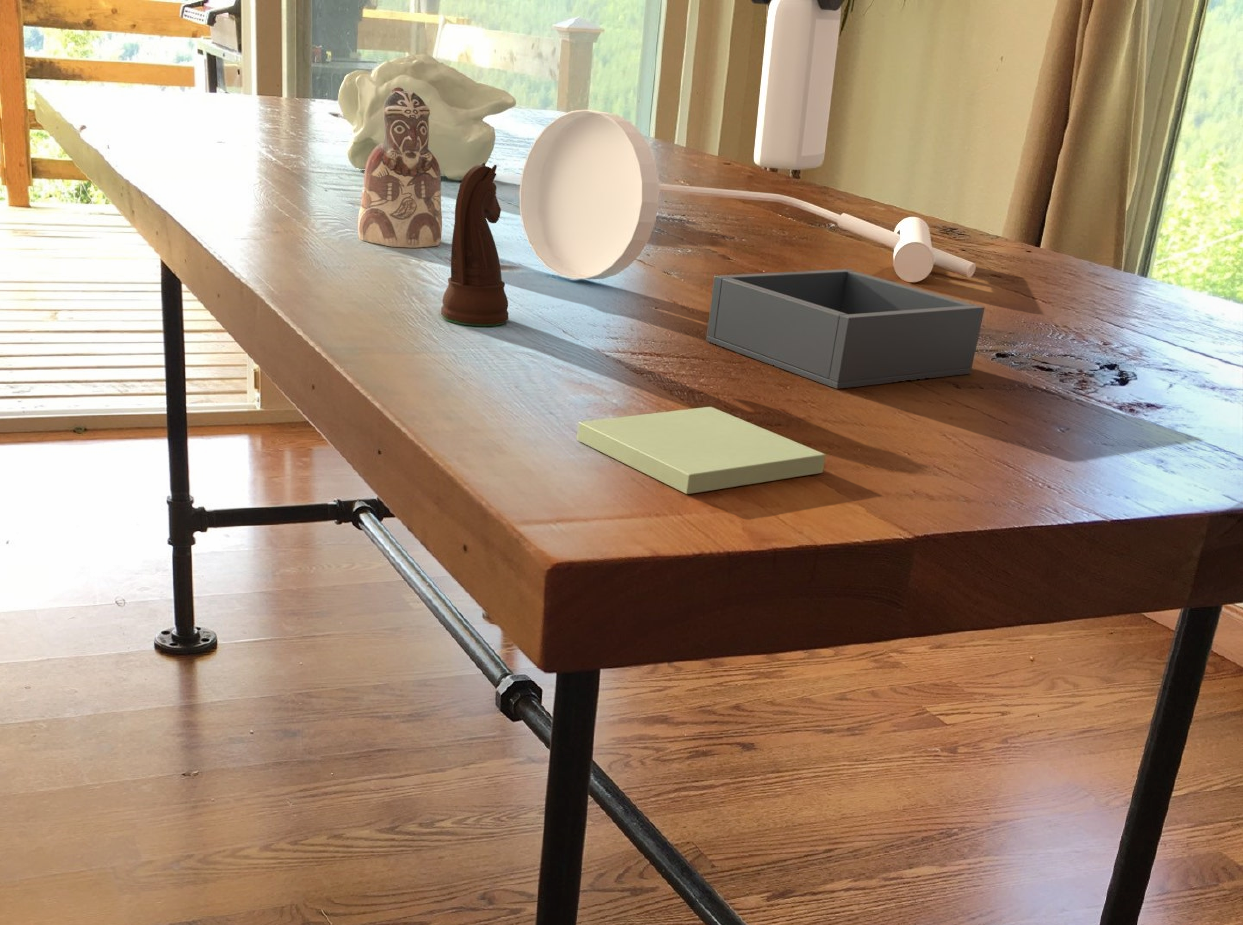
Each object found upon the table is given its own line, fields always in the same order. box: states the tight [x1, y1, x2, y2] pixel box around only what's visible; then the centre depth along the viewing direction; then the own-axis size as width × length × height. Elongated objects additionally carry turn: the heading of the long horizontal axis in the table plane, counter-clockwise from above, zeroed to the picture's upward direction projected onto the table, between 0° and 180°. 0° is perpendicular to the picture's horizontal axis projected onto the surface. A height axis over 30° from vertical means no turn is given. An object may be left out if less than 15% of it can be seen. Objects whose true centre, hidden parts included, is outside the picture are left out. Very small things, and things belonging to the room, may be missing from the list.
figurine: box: [357, 87, 443, 249], centre depth 119 cm, size 7×7×12 cm
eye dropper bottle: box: [753, 0, 842, 171], centre depth 71 cm, size 4×6×12 cm
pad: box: [576, 406, 826, 495], centre depth 72 cm, size 9×9×1 cm
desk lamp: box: [519, 109, 977, 283], centre depth 123 cm, size 12×22×45 cm
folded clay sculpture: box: [337, 53, 517, 181], centre depth 159 cm, size 18×13×16 cm
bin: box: [705, 268, 986, 390], centre depth 95 cm, size 13×13×4 cm
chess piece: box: [440, 163, 509, 327], centre depth 95 cm, size 5×5×10 cm
